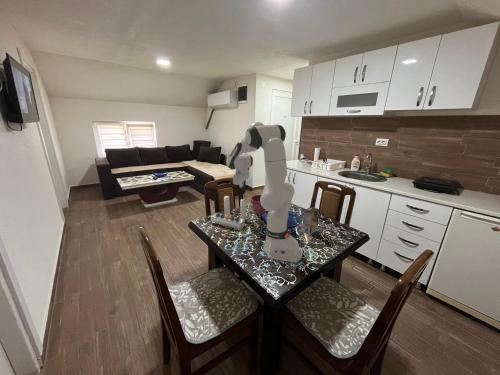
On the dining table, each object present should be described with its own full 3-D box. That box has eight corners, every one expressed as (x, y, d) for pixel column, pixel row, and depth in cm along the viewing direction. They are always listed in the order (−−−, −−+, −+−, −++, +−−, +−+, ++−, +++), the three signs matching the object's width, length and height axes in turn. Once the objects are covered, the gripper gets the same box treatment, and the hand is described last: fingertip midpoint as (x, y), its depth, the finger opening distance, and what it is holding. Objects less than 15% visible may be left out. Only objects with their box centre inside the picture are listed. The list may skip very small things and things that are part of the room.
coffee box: (309, 227, 148) (311, 206, 143) (317, 230, 143) (319, 209, 138) (301, 231, 142) (303, 209, 137) (309, 235, 137) (312, 213, 132)
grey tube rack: (245, 225, 149) (245, 217, 147) (240, 230, 143) (240, 221, 140) (216, 218, 160) (215, 210, 157) (210, 222, 153) (209, 214, 151)
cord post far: (231, 215, 164) (230, 196, 159) (228, 217, 161) (227, 198, 155) (226, 214, 166) (225, 195, 161) (223, 216, 162) (222, 197, 157)
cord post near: (247, 219, 159) (247, 199, 154) (244, 221, 155) (244, 201, 150) (242, 217, 160) (241, 198, 155) (239, 220, 157) (239, 200, 152)
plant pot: (256, 217, 161) (256, 202, 157) (247, 211, 172) (247, 196, 168) (271, 214, 167) (272, 199, 163) (262, 207, 179) (262, 193, 175)
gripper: (238, 173, 148) (238, 191, 153) (250, 167, 166) (250, 183, 170) (230, 172, 151) (231, 190, 155) (243, 166, 168) (243, 182, 173)
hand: (241, 186), depth 163 cm, fingers closed
